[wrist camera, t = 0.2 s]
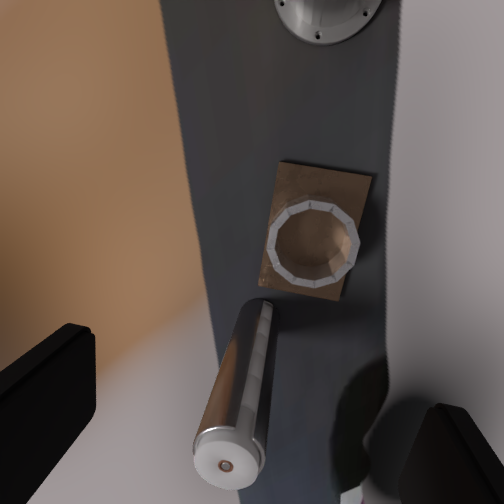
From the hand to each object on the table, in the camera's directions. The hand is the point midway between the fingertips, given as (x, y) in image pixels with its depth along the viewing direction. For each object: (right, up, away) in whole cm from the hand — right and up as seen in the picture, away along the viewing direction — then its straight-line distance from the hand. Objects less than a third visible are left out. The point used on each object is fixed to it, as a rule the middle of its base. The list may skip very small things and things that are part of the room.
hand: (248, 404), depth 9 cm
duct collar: (+8, +7, +36) cm, 37 cm away
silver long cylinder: (+1, -6, +41) cm, 42 cm away
